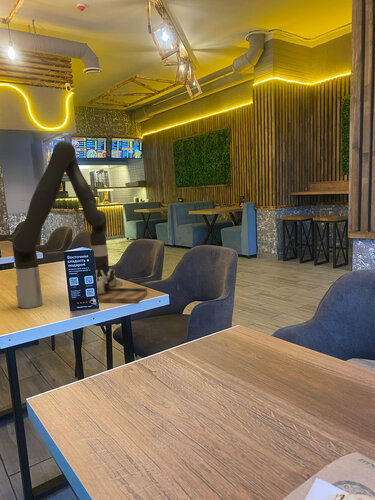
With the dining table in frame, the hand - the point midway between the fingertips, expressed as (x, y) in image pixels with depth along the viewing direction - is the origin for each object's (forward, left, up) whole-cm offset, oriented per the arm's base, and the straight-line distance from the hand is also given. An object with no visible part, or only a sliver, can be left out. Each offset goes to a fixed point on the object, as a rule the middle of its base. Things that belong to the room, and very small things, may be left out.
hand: (102, 291), depth 178 cm
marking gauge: (0, -2, -1) cm, 2 cm away
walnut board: (+8, -2, -3) cm, 9 cm away
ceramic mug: (-5, +22, -3) cm, 23 cm away
